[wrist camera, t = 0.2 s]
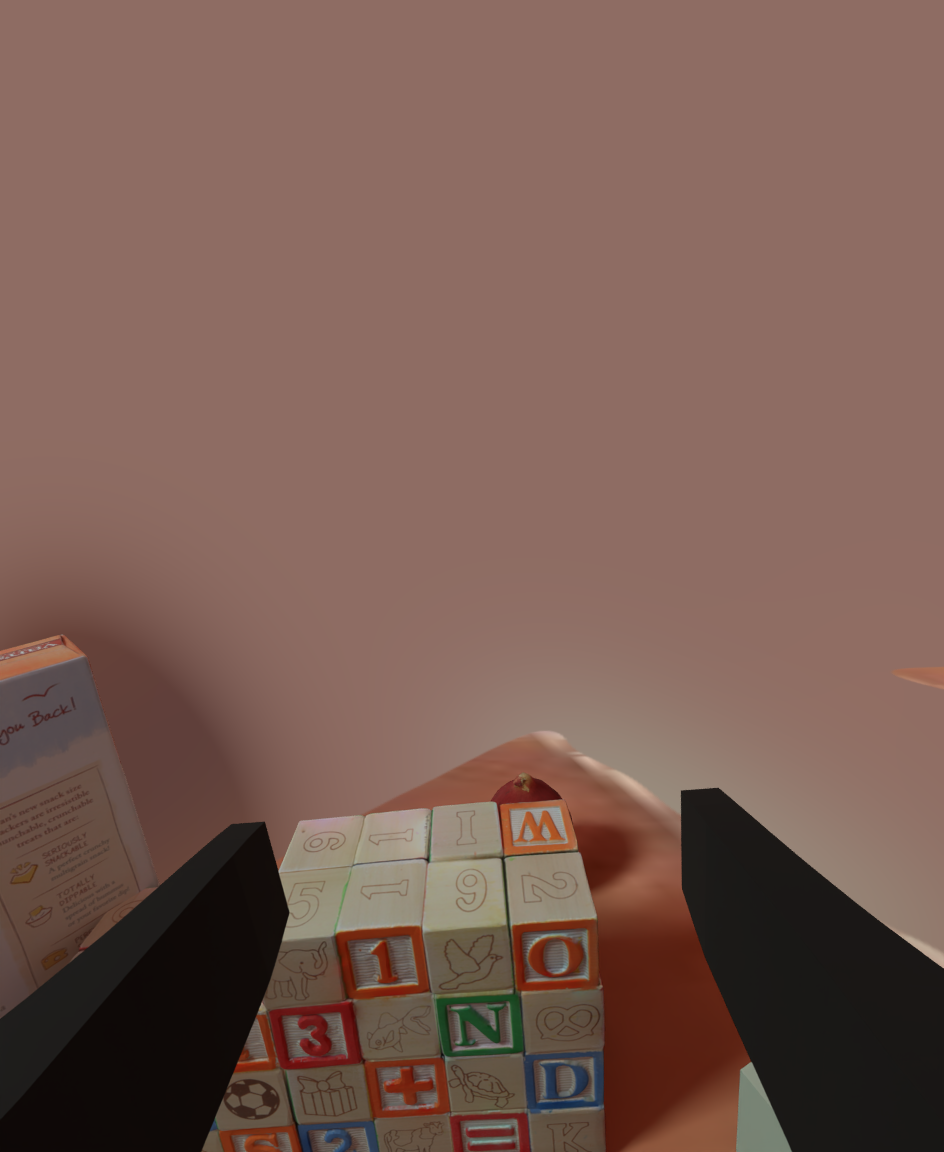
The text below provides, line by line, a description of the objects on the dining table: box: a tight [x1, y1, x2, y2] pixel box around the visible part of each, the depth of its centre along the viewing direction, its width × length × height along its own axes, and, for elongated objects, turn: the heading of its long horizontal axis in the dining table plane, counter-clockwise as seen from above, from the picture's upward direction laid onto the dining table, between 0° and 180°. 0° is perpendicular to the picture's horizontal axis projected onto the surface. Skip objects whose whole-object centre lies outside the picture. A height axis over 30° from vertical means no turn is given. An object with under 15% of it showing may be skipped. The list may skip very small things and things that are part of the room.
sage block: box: [736, 1062, 792, 1152], centre depth 19 cm, size 4×4×4 cm
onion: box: [490, 773, 573, 825], centre depth 33 cm, size 6×6×8 cm
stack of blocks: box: [69, 800, 606, 1152], centre depth 22 cm, size 21×6×12 cm, turn 90°
